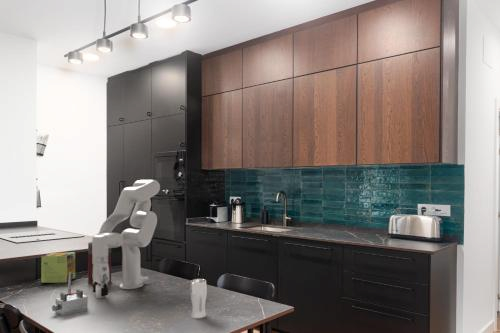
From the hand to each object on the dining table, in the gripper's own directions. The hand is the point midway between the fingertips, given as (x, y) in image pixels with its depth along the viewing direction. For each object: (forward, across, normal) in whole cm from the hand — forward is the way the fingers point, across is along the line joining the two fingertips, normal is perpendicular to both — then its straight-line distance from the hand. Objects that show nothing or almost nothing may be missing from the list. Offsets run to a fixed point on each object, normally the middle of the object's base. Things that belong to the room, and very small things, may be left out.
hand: (100, 293), depth 195 cm
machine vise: (+1, -11, +19) cm, 22 cm away
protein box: (+2, +51, +3) cm, 51 cm away
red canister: (+2, +28, -11) cm, 30 cm away
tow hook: (+2, +11, +9) cm, 14 cm away
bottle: (+2, 0, 0) cm, 2 cm away
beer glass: (+2, -59, -17) cm, 61 cm away
